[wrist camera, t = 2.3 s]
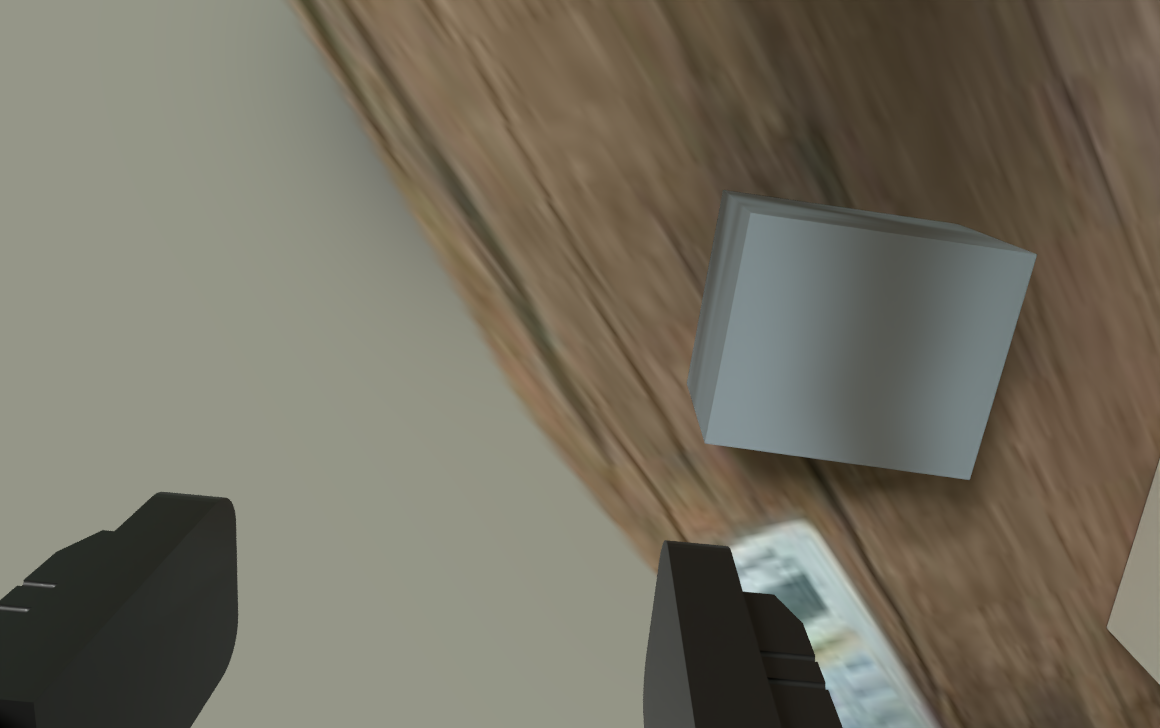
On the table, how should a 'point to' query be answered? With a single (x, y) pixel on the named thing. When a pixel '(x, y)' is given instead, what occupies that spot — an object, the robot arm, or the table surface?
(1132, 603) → the cream rectangular bar
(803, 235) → the block
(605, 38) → the table surface
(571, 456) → the table surface
